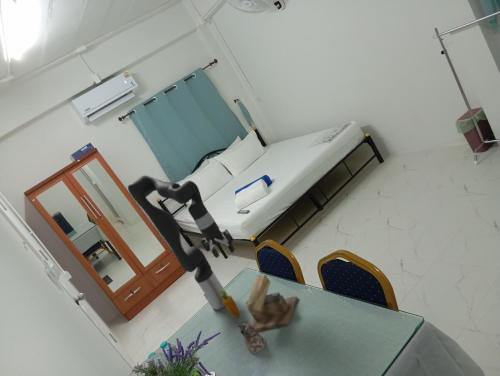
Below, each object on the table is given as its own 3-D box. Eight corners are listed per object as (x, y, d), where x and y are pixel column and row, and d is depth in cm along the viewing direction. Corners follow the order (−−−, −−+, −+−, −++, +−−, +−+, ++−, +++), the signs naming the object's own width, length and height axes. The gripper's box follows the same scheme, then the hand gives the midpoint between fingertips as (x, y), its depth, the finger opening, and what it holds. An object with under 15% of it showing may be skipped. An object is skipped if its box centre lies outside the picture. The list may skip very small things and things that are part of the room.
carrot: (241, 318, 203) (225, 292, 199) (232, 322, 205) (215, 296, 201) (243, 311, 208) (227, 286, 204) (234, 315, 209) (218, 290, 205)
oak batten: (252, 314, 181) (246, 305, 180) (262, 285, 199) (257, 276, 197) (261, 311, 179) (255, 302, 178) (270, 282, 197) (264, 273, 196)
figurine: (260, 353, 173) (245, 329, 170) (246, 353, 177) (231, 330, 174) (268, 339, 178) (253, 316, 175) (254, 340, 183) (240, 317, 180)
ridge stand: (248, 333, 190) (236, 315, 187) (259, 307, 203) (249, 290, 201) (288, 324, 180) (276, 305, 178) (298, 298, 193) (287, 280, 191)
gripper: (222, 214, 192) (241, 245, 196) (197, 224, 199) (216, 253, 203) (215, 223, 186) (235, 254, 190) (190, 233, 193) (209, 263, 197)
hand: (225, 254), depth 197 cm, fingers open, 8 cm apart
